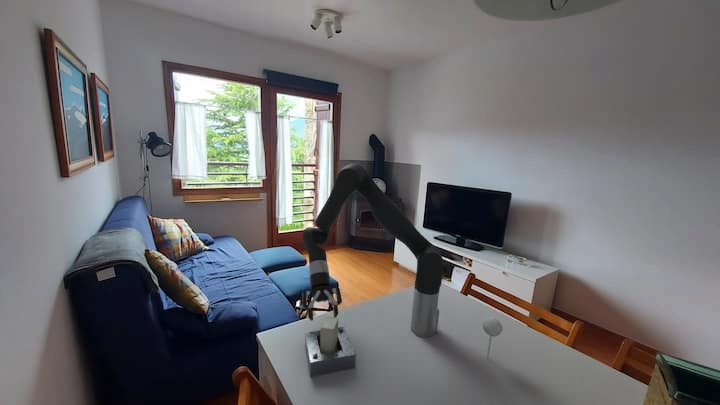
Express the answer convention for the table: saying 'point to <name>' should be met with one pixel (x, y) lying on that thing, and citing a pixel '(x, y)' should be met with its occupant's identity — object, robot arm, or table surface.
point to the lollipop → (492, 328)
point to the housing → (329, 354)
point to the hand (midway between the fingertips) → (323, 318)
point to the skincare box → (329, 335)
